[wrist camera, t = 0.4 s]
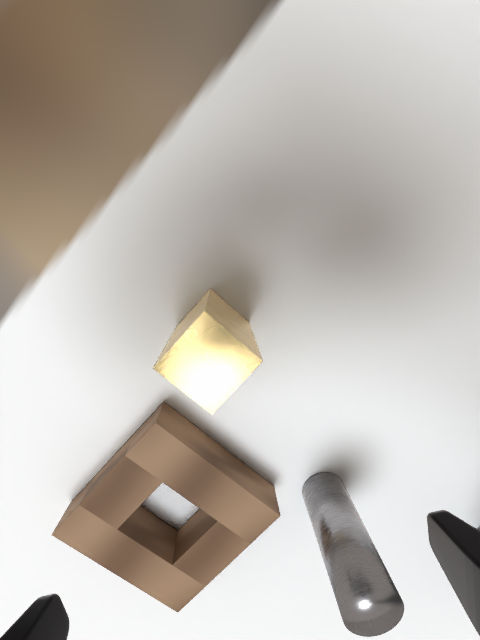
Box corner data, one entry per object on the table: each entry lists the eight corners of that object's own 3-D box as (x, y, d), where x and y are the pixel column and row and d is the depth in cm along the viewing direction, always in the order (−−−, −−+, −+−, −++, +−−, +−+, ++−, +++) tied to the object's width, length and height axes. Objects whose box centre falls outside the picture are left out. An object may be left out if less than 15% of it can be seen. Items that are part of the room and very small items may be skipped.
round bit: (352, 487, 23) (416, 608, 16) (322, 515, 24) (371, 645, 16) (323, 464, 23) (375, 577, 15) (293, 492, 23) (329, 617, 15)
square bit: (249, 322, 20) (262, 361, 13) (215, 358, 21) (211, 414, 14) (210, 288, 20) (204, 310, 13) (176, 326, 20) (152, 368, 13)
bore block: (273, 486, 23) (280, 515, 20) (182, 574, 24) (177, 612, 22) (163, 401, 21) (155, 422, 19) (70, 502, 22) (51, 534, 20)
